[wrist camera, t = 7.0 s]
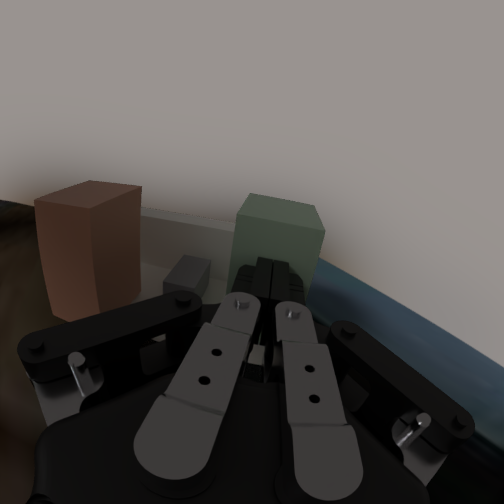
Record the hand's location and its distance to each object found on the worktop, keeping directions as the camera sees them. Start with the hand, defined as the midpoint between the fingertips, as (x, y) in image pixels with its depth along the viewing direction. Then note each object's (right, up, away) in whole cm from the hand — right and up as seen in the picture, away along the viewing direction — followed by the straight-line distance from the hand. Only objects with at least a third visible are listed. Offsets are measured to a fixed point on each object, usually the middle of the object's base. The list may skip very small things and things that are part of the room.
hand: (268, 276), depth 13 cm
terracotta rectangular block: (-10, -2, +2) cm, 11 cm away
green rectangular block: (0, -3, +4) cm, 5 cm away
